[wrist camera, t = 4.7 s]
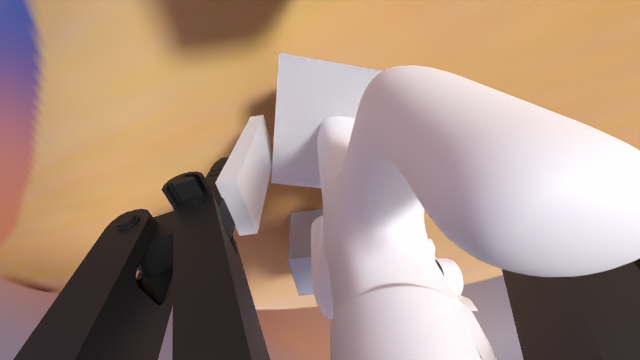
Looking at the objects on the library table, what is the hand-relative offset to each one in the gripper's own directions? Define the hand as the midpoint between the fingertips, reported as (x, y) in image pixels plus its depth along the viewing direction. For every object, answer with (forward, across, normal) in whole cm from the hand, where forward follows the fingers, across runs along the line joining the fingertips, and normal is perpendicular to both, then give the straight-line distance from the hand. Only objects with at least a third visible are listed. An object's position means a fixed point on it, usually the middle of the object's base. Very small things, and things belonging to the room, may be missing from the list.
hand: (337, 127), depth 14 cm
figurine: (+3, 0, 0) cm, 3 cm away
